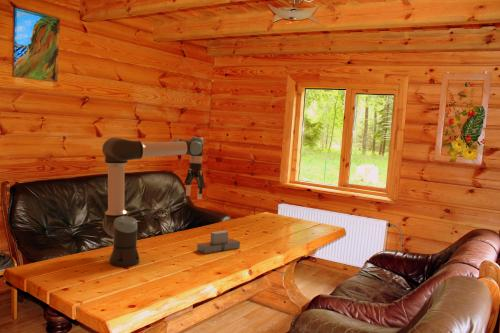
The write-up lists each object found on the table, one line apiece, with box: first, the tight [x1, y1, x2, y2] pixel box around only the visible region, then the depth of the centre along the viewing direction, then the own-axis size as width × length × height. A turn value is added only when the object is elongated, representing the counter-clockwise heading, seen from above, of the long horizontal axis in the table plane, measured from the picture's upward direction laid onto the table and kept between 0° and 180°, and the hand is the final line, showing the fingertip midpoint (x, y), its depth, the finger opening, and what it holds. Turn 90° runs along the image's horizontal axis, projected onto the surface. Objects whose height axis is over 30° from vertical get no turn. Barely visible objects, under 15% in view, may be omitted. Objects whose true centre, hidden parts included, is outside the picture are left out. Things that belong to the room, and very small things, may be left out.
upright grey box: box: [209, 230, 229, 245], centre depth 261 cm, size 10×4×10 cm, turn 130°
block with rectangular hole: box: [196, 238, 241, 255], centre depth 261 cm, size 26×8×4 cm, turn 130°
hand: (193, 197), depth 264 cm, fingers open, 13 cm apart
